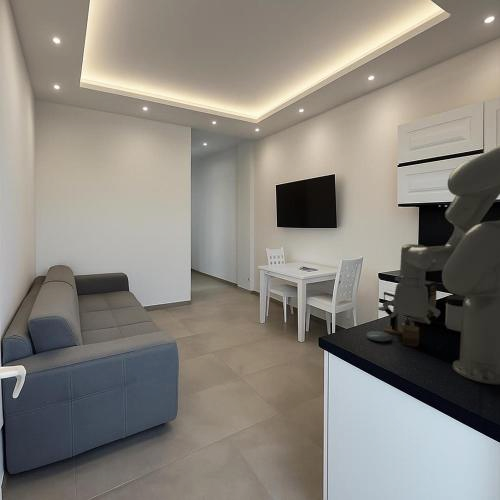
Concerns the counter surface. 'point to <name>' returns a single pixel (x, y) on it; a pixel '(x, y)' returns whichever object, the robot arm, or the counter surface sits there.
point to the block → (411, 335)
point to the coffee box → (429, 299)
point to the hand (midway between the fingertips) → (409, 331)
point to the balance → (396, 330)
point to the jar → (454, 312)
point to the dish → (379, 336)
